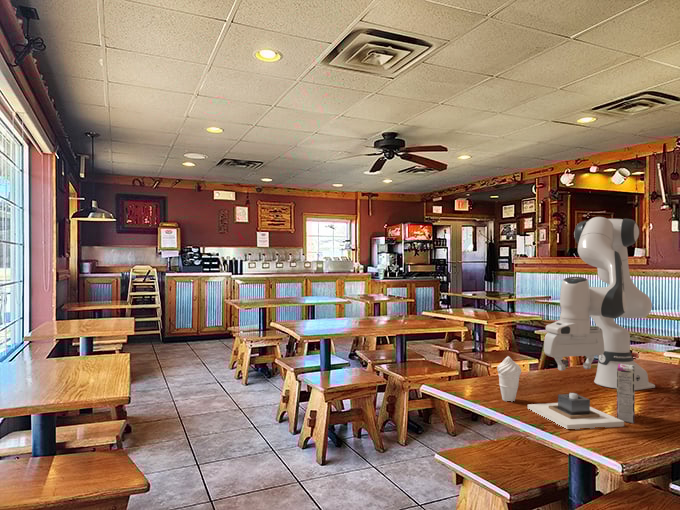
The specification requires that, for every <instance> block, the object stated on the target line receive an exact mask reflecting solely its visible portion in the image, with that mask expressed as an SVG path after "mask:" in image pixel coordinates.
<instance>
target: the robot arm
mask: <svg viewBox="0 0 680 510" xmlns="http://www.w3.org/2000/svg"><path fill="white" fill-rule="evenodd" d="M573 235H574V236H573V237H574V240H575V242H576V244H577V253H578V256H579V258H580V259H581V260H582V261H583V262H584V263H585V264H587V265H589V266H592V267H595V268H596V269H597V276H598V278H599V280H601V282H604V283H605V284H607V285H608V286H605V287H604V286H601V287H600V286H590V285H589V280H588V278H587V277H586V278H585V277H582V276H571V277H570V276H568V277H565V278H564V279H562V280H561V281H562V282H561V285H560V293H559V295H560V296H559V306H560V314H559V319H558V320H557V321H554V322H552V323H549V324H547V325H545V331H546V334H545V336H544V341H543V352H544V355H545V356H548V357H551V358H554V361H555V362H556V364H557V370H559V371H565V370H566V364H563V359H564V357H566V358H567V357H580V356H581V357H585V358H586V360H585V362H582V365H583V366H582V367H583V370H584V369H585V370H590V369H591V368H592V367H591V365H592V363H593V361H594V360H595V356H597V360H598V362H597V366H596V367H597V368H596V373H595V378H594V380H593V382H594V383H595V384H596V385H598V386H602V387H605V388H611V389H617V368H618V364H627V365H634V371H635V391H639V390H646V389H647V390H648V389H652V388H653V389H655V388H656V385H655V384H654V383H652V382H649V375H648V372H647V370H646V369H644V368H643V367H642V366H640V365H639V364H638V363H637V362H636V361H634V358H635V359H638V358H639V357H640V354H639V353H637V352H634V351H633V352H631V351H630V350H631V336H630V335H631V334H630V332H629V331H628V329H626V327H624V326H621V325H619V324H618V323H617V322H616V321H615V319H618V318H624V319H641V318H643V319H644V318H646V317H647V316H649V315H650V313H651V311H652V309H653V304H652V300H651V298H650V297H649V296H648V295H647V294H646V293H645V292H643V291H642V290H641V289H639V288H638V286H636V285H635V283H634V281H633V280H632V277H631V275H630V267H629V254H628V247H630V246H633V245H634V244H636V243H637V241H638V238H639V235H640V229H639V226H638V223H637V222H636V221H635V220H634V219H631V218H623V219H622V218H606V217H603V216H595V217H592V218H590V219H588V220H584V221H583V220H582V221H580V222H579V223H577V224H576V225H575V228H574V232H573ZM591 319H592V320H593V322H594V323H595V325H596V326H595V325H594V326H591Z"/></svg>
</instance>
